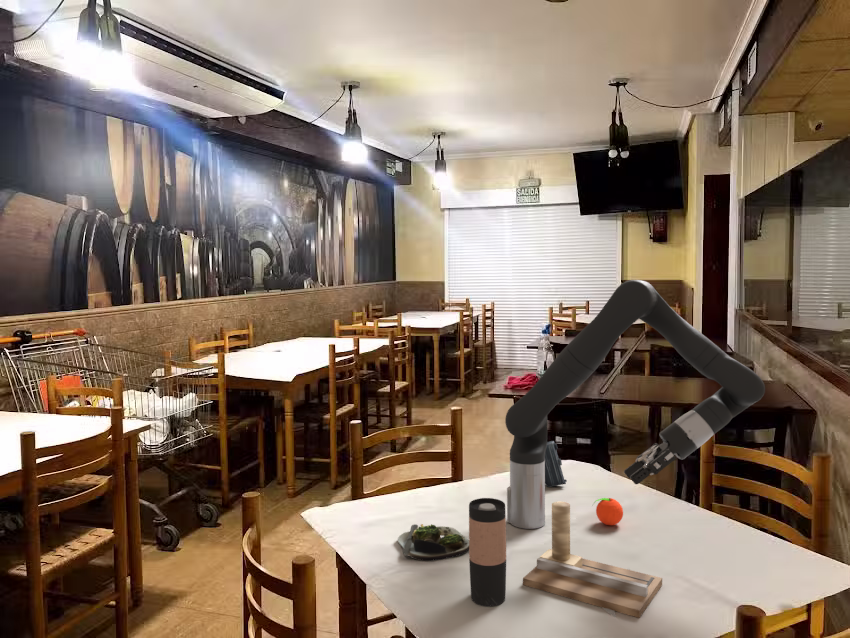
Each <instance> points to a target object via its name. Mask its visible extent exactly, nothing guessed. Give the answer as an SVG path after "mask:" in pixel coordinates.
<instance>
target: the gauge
mask: <svg viewBox="0 0 850 638" xmlns="http://www.w3.org/2000/svg"><path fill="white" fill-rule="evenodd" d="M539 558H543V559H547V560H551V561H555V562H559V563H563V564H567V565H571V566H574V567H578V568H580V567H581V566H582V558H583V556H579V555H576V554H571V504H570V503H568V502H567V501H554V502H552V503H551V548H548V549H547V550H546V551H545V552H543V554H541V555H540V556H539Z"/></svg>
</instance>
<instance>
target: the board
mask: <svg viewBox="0 0 850 638" xmlns="http://www.w3.org/2000/svg"><path fill="white" fill-rule="evenodd" d="M522 585H523V586H526V587H530V588H532V589H536V590H540V591H542V592H543V591H544V592H547V593H551V594H553V595H558V596H561V597H565V598H568V599H572V600H575V601H578V602H582V603H586V604H589V605H593V606H595V607H600V608H602V607H603V608H607V609H611V610H614V611H615V612H616V613H617V612H618V613H621V614H624V615H628V616H631V617H635V618H638V619H640V618H641V617H642V615H643V613H645V610H647V608H648V606H649V605H650V604H651V602H652V600H653V599H654V597H655V596H656V595H657V593H658V592H659V590H660V589H661V588H662V586H663V577H659V576H656V575H651V574H647V573H643V572H640V571H639V572H638V571H635V570H631V569H628V568H622V567H619V566H615V565H612V564H611V565H610V564H608V563H602V562H599V561H595V560H591V559H586V558H583V557H582V566H581V567H580V568H578V567H574V566H571V565H567V564H563V563H559V562H555V561H551V560H547V559H543V558H540V557H538V558H536V566H534V568H533V569H531V570H530V571H529V572H528V573H527V574H526V575H525V576H523V578H522ZM603 608H602V609H603Z"/></svg>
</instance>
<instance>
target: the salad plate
mask: <svg viewBox="0 0 850 638" xmlns="http://www.w3.org/2000/svg"><path fill="white" fill-rule="evenodd" d="M409 530H410V531H407V532H403V533H401V534H400V535H399V536H398V537H397V541H398V544H399V546H400V547H401V548H402V554H403V555H404V556H407V557H411V558H412V559H415V560H418V561H425V562H426V561H427V562H429V561H433V562H434V561H439V560H440V561H441V560H444V559H445V560H446V559H450V558H457V557H459V556H461V555H464V554H466V553H467V552H469V538H467V537H466V536H465V535H464V534H463V533H461V532H460V531H459V530H458V529H456V528H454V527H451V526H444V525H443V526H441V525H440V526H439V525H438V526H436V525H435V524H430V525H424V524H422V523H421V524H420V526H419V525H418V524H415V523H414V524H412V525H411V526H410V529H409ZM441 536H442V537H441Z"/></svg>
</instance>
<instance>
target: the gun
mask: <svg viewBox="0 0 850 638" xmlns="http://www.w3.org/2000/svg"><path fill="white" fill-rule="evenodd" d="M557 450H558V444H557V443H555V441H554V440H551V441H547V447H546V451H545V487H547V488H551V487H556V486H561V485H562V486H563V485H566V484H567V479H566V478H565V476H564V473H563V470H562V465H563V462H562V459H561V458H559V455H558V452H557Z"/></svg>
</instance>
